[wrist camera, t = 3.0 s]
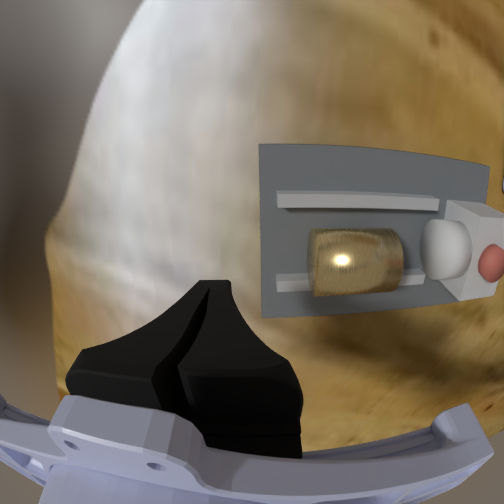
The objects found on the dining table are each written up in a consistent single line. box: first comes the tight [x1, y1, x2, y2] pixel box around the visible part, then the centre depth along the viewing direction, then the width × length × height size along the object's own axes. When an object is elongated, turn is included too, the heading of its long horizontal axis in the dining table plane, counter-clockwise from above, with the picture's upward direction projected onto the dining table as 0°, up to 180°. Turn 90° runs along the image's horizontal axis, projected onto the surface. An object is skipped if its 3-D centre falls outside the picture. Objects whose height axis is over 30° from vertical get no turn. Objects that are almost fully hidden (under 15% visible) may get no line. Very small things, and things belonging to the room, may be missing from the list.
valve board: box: [259, 144, 504, 318], centre depth 17 cm, size 18×12×6 cm, turn 92°
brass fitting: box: [307, 228, 404, 297], centre depth 17 cm, size 5×4×4 cm
